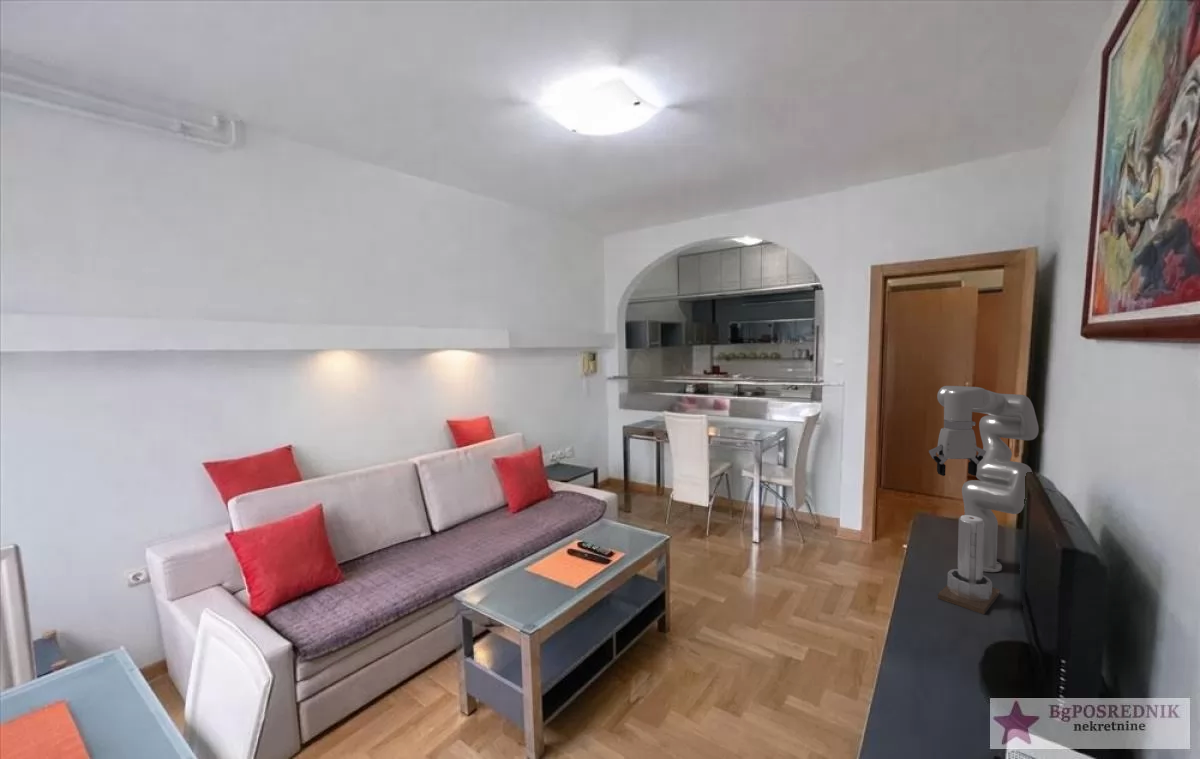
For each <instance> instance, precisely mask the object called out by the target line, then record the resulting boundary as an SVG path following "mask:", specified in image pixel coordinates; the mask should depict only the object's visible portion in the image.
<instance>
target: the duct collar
mask: <svg viewBox="0 0 1200 759" xmlns="http://www.w3.org/2000/svg"><path fill="white" fill-rule="evenodd" d="M957 573H958V568H953V569H950V570H949V571H948V572H947V584H946V585H945V586H944V587H943V588H942V589H941V590H940V591H939V592H938V593H937V599H939V600H941V601H944V602H947V603H950V604H953V605H956V606H958V607H962V608H963V609H968V610H970V611H973V612H976V613H979V614H982V615H985V614H986V613H987V611H988V610H989V609H990V608H991V606H992V605H993V604H994V603H995V602H996V600H997V598H998V597H999V596H1000V595H1001V589H998V588H996V587H993V582H992V580H991V579H990V578H989V577H988V576H986V575H984V574H983V584H972V583H968V582H964V581H961V580H959V579H957Z"/></svg>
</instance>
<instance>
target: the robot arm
mask: <svg viewBox="0 0 1200 759" xmlns="http://www.w3.org/2000/svg"><path fill="white" fill-rule="evenodd" d="M937 402H938V403H939V404H940V405H941V406H942V407H943V427H942V428H940V431H939V435H938V440H937V446H936V447H934V448H932V449H929V450H928V453H929V454H930V455H929V456H931V459H933V461H935V463H936V471H937V474H938V475H940V476H942V477H945V476H946V464H945V462H947V460H969V462H968V463H967V473H968V474H969V475H971V476H974V477H976V478H977V480H976V479H974V480H973V479H971V480H967V481H965V482H964V483H963V485H962V487H961V495H962V502H963V506H964V515H971V516H976V517H979V518H981V519H983V522H984V551H983V572H986V573H997V572H1001V571H1002V570H1003V566H1002V565H1003V564H1001V563H1000V562H998V561H997V560H998V557H997V556H998V555H997V553H998V526H999V525H998V523H999V522H998V520H997V519H998V518H997V517H996V515H995V513H994V512H993V511H996V512H1001V513H1005V514H1012V515H1017V514H1019V513H1021V512H1022V511H1023V510H1024V507H1025V504H1024V499H1025V476H1026V473H1027V472H1032V473H1033V471H1032V468H1031V467H1030V466H1029V465H1028V464H1025V463H1023V462H1019V461H1013V460H1011V459H1012V456H1013V453H1012V450H1011V449H1010V447H1009V446H1008V444H1007V443H1006V442H1004V440H1002V439H1011V440H1017V441H1018V440H1020V441H1033V440H1035V439H1036V438H1037V437H1038V435H1039V431H1040V430H1039V428H1040V427H1039V423H1038V419H1037V415H1036V412H1035V408H1034V405H1033V403H1032V400H1031V399H1030V398H1029V397H1028V396H1027V395H1024V394H1014V393H1013V394H1011V393H998V392H994V391H991V390H988V389H985V388H983V387H980V386H979V387H978V386H962V385H943V386H942V387H940V389H939V390H938V392H937ZM973 413H979V414H985V415H984V416H982V417H981V418H980V420H979V424H978V427H979V428H978V429H979V434H980V438H981V442H982V447H983V448H981V447H979V446H977V440H976V434H975V431H974V429H973V427H974V426H976V422H975V421H973ZM1001 438H1002V439H1001ZM977 453H978V454H977ZM937 455H938V456H937Z"/></svg>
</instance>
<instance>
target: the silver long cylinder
mask: <svg viewBox="0 0 1200 759" xmlns="http://www.w3.org/2000/svg"><path fill="white" fill-rule="evenodd" d="M957 534H958V536H957V537H958V538H957V541H958V542H957V569H958V573H957V579H959V580H961V581H964V582H968V583H972V584H983V575H984V571H983V551H984V522H983V519H981V518H979V517H976V516H971V515H965V514H964V515H963V514H962V515H961V516H960V517H958V533H957Z"/></svg>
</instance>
